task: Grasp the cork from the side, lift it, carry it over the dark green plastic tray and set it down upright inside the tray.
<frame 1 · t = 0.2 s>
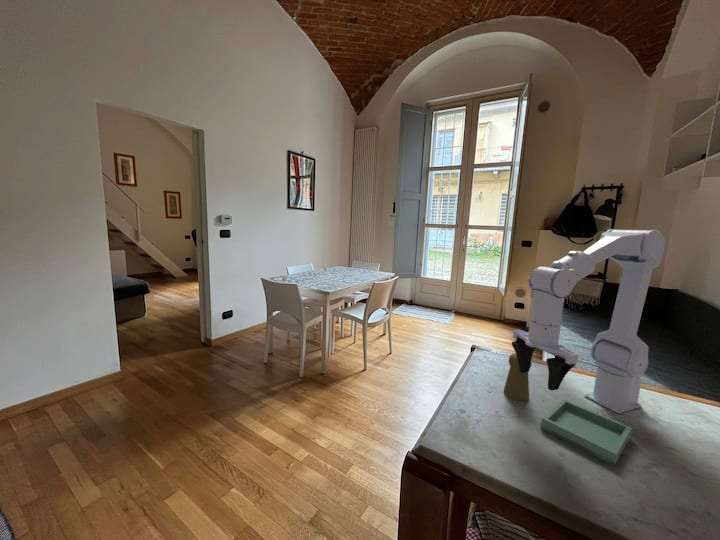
hand: (537, 379, 66), 10 cm above the table, tool pointing down, fingers open, 7 cm apart
cork: (515, 395, 78), on the table
tray: (584, 433, 64), on the table
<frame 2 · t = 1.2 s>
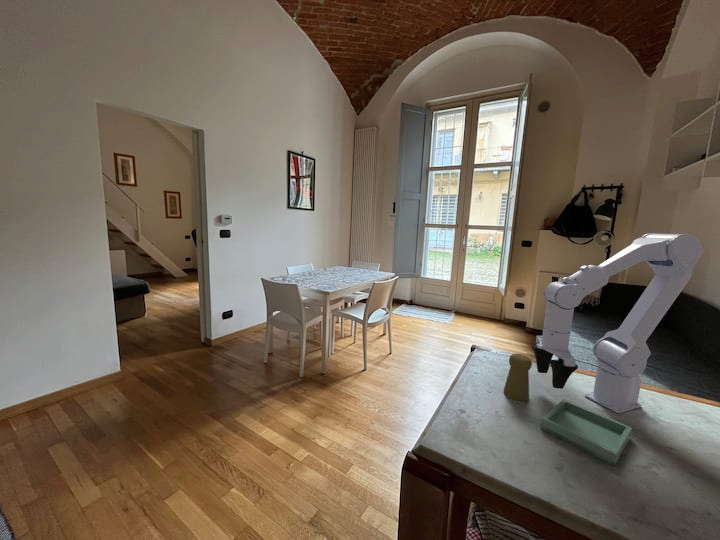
hand: (549, 379, 76), 5 cm above the table, tool pointing down, fingers open, 7 cm apart
nothing on the table moved.
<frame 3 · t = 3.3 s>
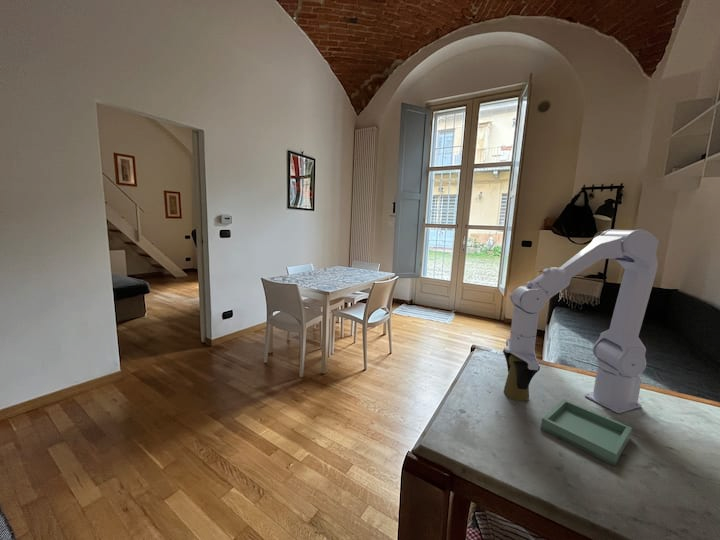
hand: (517, 382, 77), 3 cm above the table, tool pointing down, fingers closed on cork, 5 cm apart
cork: (515, 395, 78), on the table, touching gripper
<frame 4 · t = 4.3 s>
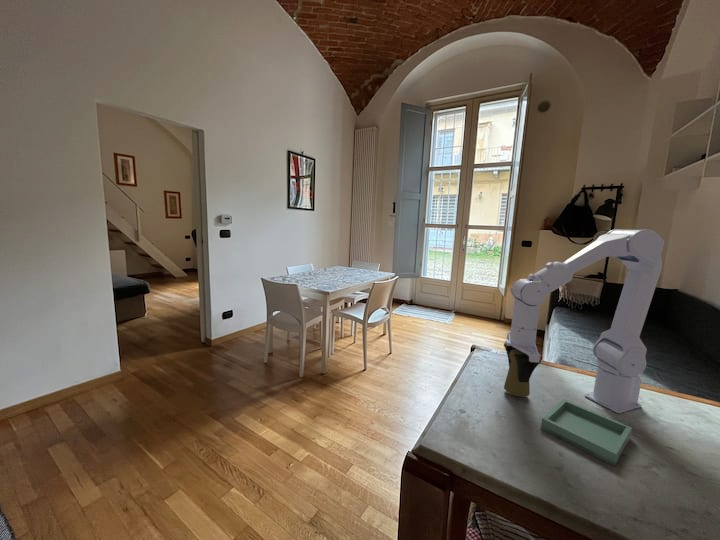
hand: (518, 376, 77), 5 cm above the table, tool pointing down, fingers closed on cork, 5 cm apart
cork: (516, 390, 78), point 1 cm above the table, touching gripper
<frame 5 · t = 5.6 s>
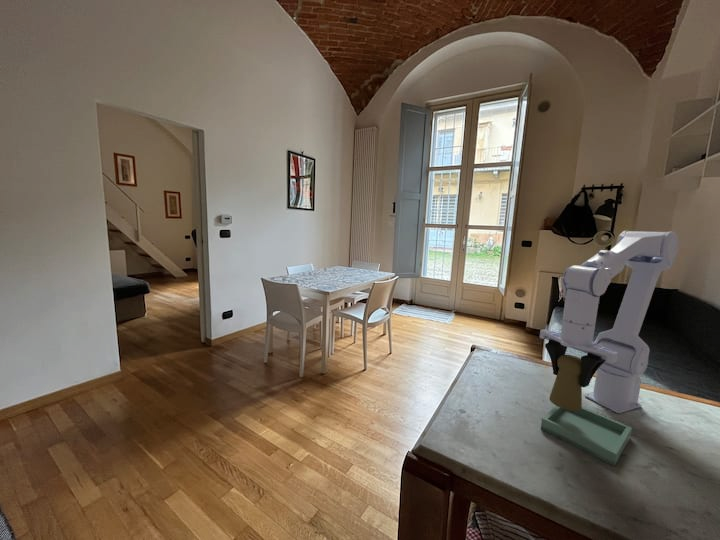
hand: (570, 379, 66), 10 cm above the table, tool pointing down, fingers closed on cork, 5 cm apart
cork: (564, 403, 66), point 5 cm above the table, touching gripper
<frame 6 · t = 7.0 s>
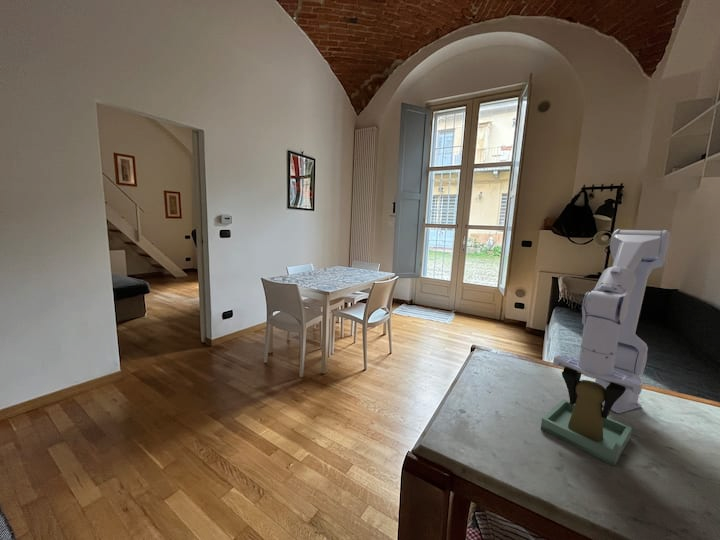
hand: (588, 409, 63), 6 cm above the table, tool pointing down, fingers closed on cork, 5 cm apart
cork: (585, 432, 63), point 1 cm above the table, touching gripper, tray
when the fingers open (5 cm above the table, at t = 7.7 s): cork stays where it is, resting on tray.
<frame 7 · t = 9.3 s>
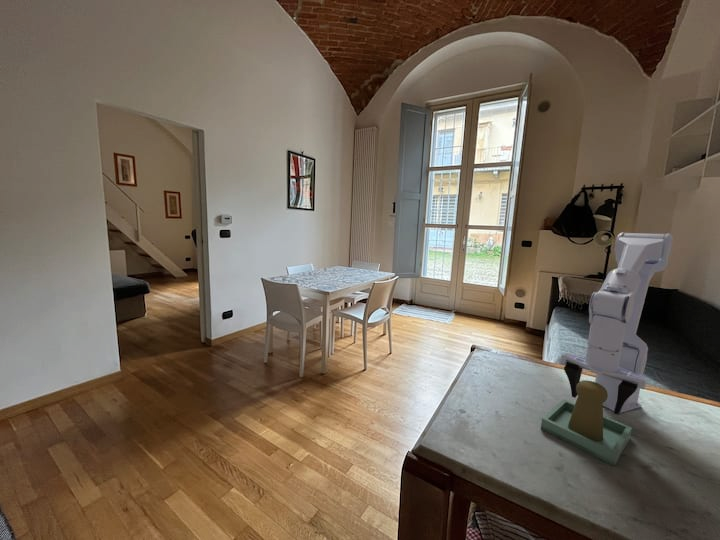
hand: (595, 403, 66), 5 cm above the table, tool pointing down, fingers open, 7 cm apart
cork: (585, 432, 63), point 1 cm above the table, touching tray
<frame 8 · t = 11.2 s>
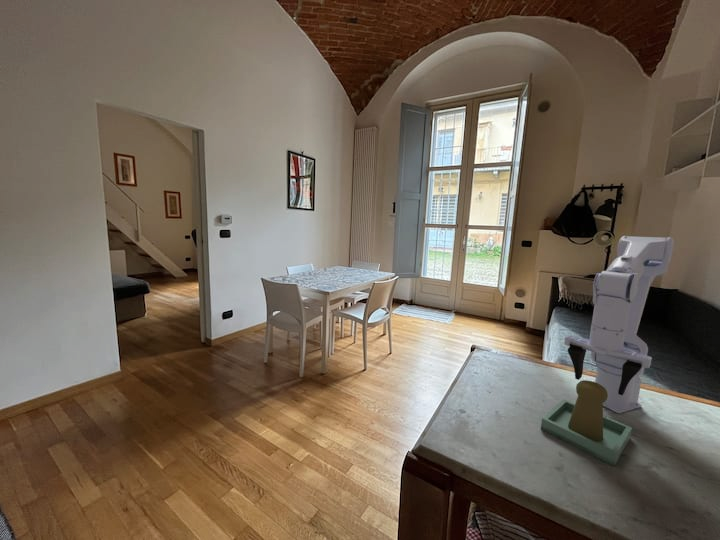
hand: (598, 385, 66), 9 cm above the table, tool pointing down, fingers open, 7 cm apart
nothing on the table moved.
at the end: cork inside the target area on the tray (0.6 cm from its centre), point 0.6 cm above the tray's base; cork tilted 0°; the gripper is holding nothing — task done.
